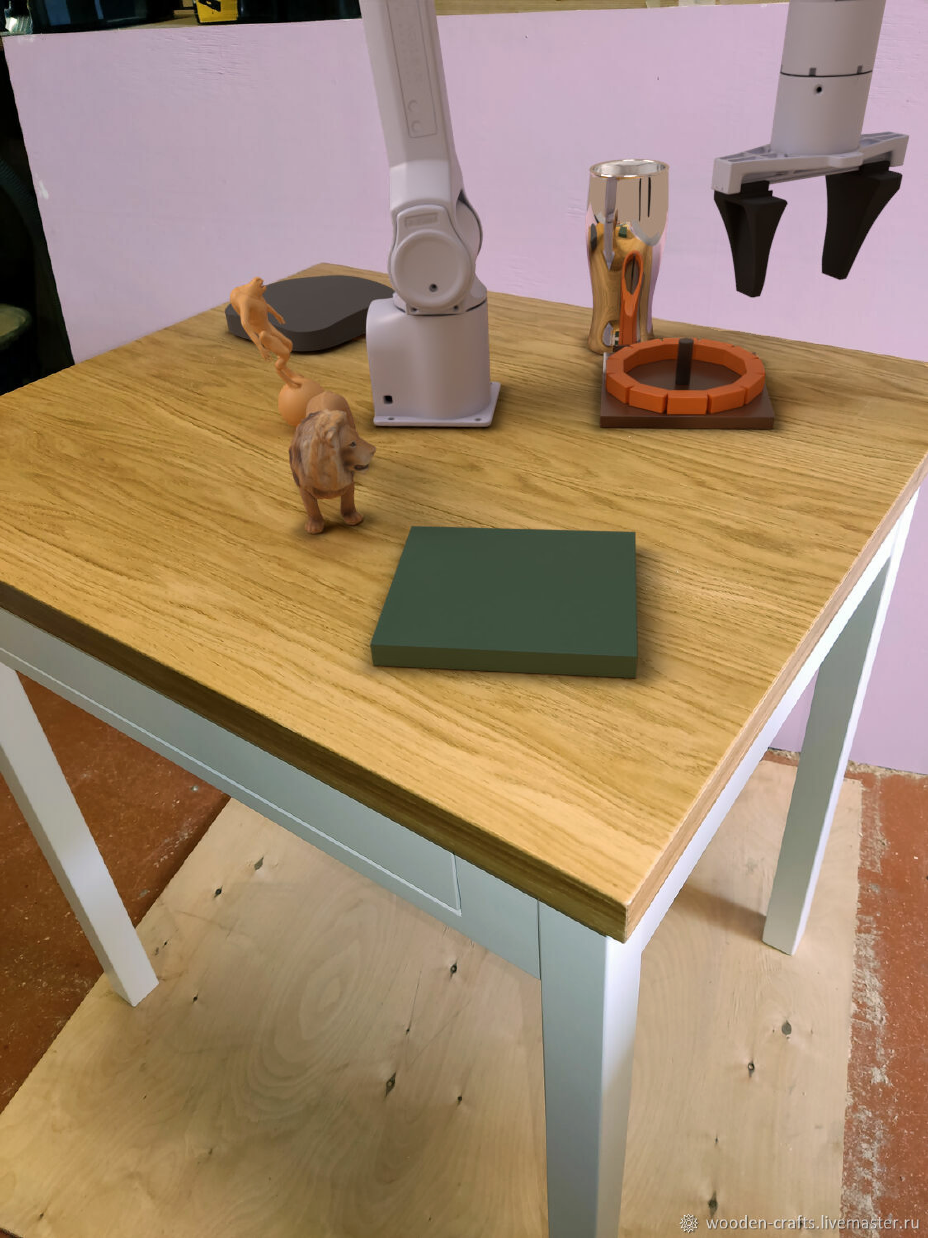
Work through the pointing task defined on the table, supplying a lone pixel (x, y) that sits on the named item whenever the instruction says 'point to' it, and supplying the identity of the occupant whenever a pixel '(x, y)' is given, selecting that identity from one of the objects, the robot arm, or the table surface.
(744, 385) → the ring
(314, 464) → the lion figurine
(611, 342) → the beer glass
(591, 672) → the stand
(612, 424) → the post
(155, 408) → the table surface
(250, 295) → the figurine
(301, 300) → the media streaming box
